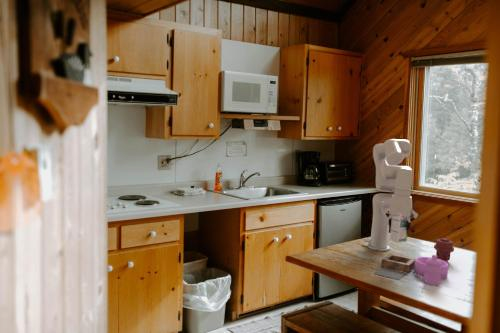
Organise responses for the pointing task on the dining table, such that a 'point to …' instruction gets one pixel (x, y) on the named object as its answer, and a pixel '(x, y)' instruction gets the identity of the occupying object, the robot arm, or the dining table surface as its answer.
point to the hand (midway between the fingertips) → (399, 228)
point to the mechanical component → (443, 249)
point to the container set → (431, 269)
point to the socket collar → (398, 263)
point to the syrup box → (398, 228)
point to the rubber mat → (390, 273)
